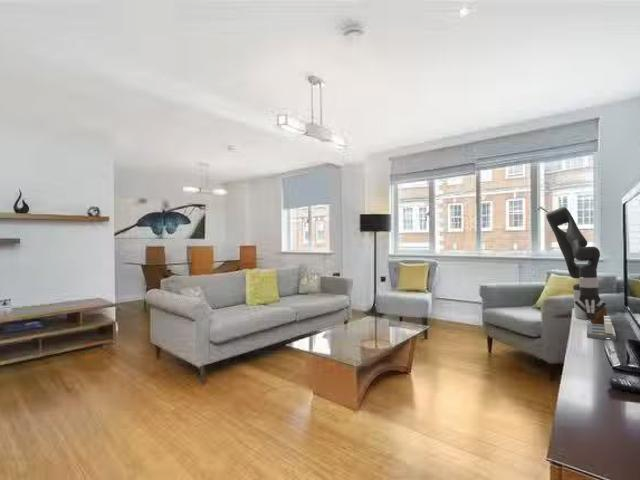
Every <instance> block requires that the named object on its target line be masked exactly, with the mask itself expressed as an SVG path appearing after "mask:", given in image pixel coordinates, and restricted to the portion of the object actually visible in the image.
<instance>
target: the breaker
mask: <svg viewBox="0 0 640 480" xmlns="http://www.w3.org/2000/svg"><path fill="white" fill-rule="evenodd" d="M612 325H613V323H612V321H611V322H605V330H606V333H608V334H613V333H612Z"/></svg>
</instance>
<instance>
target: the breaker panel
mask: <svg viewBox="0 0 640 480" xmlns="http://www.w3.org/2000/svg"><path fill="white" fill-rule="evenodd" d="M612 333H613V334H608V333H606V330H605V326H604V325H602V324H593V323H591V322H590V323H589V322H587V324H586V338H590V339H600V340H607V339H606V338H610V339H612V340H611V341H617V334H616V330H615V327H614V325H613V324H612Z"/></svg>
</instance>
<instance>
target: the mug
mask: <svg viewBox="0 0 640 480" xmlns="http://www.w3.org/2000/svg"><path fill="white" fill-rule="evenodd" d="M599 306H600V305H596V306H594V310H595V309H597V308H598V307H599ZM590 313H591V306H590ZM604 316H608V310H607V307H606V306H604V307H603V308H602V309H601V310H600V311H599V312H595V313H594V317H595V319H593V320H589V321H590V324H602V325H604Z"/></svg>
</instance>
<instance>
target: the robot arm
mask: <svg viewBox="0 0 640 480" xmlns="http://www.w3.org/2000/svg"><path fill="white" fill-rule="evenodd" d="M545 216H546V220H547V222H548V224H549V226H550V228H551V230H552V232H553V234H554V236H555V239H556V241H557V244H558V246H559V249H560V251H561V253H562V257H563V258H564V262H565V264H566V267H567V271H568V274H569V276H570V277H571V278H572V279H578V283H576V284H574V285H573V286H572V287H573V290H572V291H573V305H574V317H575V318H576V319H582V320H588V321H590V320H593V319H595V317H594V313H595V312H599V311H600V310H601V309H602V308H603V307H606V304H607V303H606V302H605V301H603V300H601V298H600V293H599V292H600V291H599V280H598V272H597V269H598V265H599V261H600V259H601V258H600V257H601V252H600V249H598V247H596V246H588V240H587V238H585V236H584V235H583V233H581V230H580V229H579V227H578V225H577V223H576V221H575V219H574V217H573V215H572V214H571V211H569V210H568V208H567V207H560V208H557V209H555V210H551V211H548V212H547V213H546V215H545ZM565 224H567V229H566V231H564V230H563V229H561V228H559V226H561V225H565ZM575 259H576V260H577V261H581V262H583V261H585V262H587V263H576V262H575ZM598 304H599V305H598ZM590 306H591V313H590ZM594 306H599V307H598V308H597V309H595V310H594Z"/></svg>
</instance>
